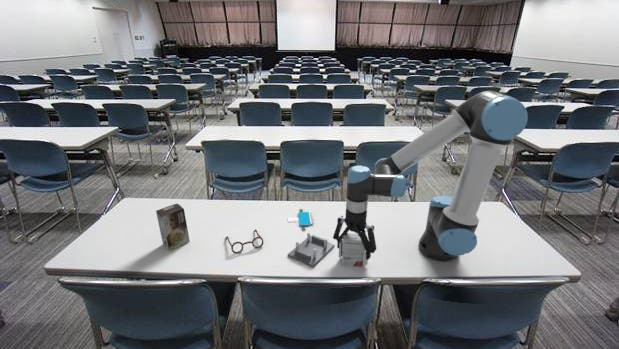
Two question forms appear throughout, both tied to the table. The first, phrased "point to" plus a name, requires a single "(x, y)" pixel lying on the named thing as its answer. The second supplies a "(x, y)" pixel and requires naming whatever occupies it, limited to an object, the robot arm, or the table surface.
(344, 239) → the ink box
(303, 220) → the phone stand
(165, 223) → the coffee box
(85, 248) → the table surface
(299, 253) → the cradle
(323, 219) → the table surface
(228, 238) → the glasses
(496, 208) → the table surface
